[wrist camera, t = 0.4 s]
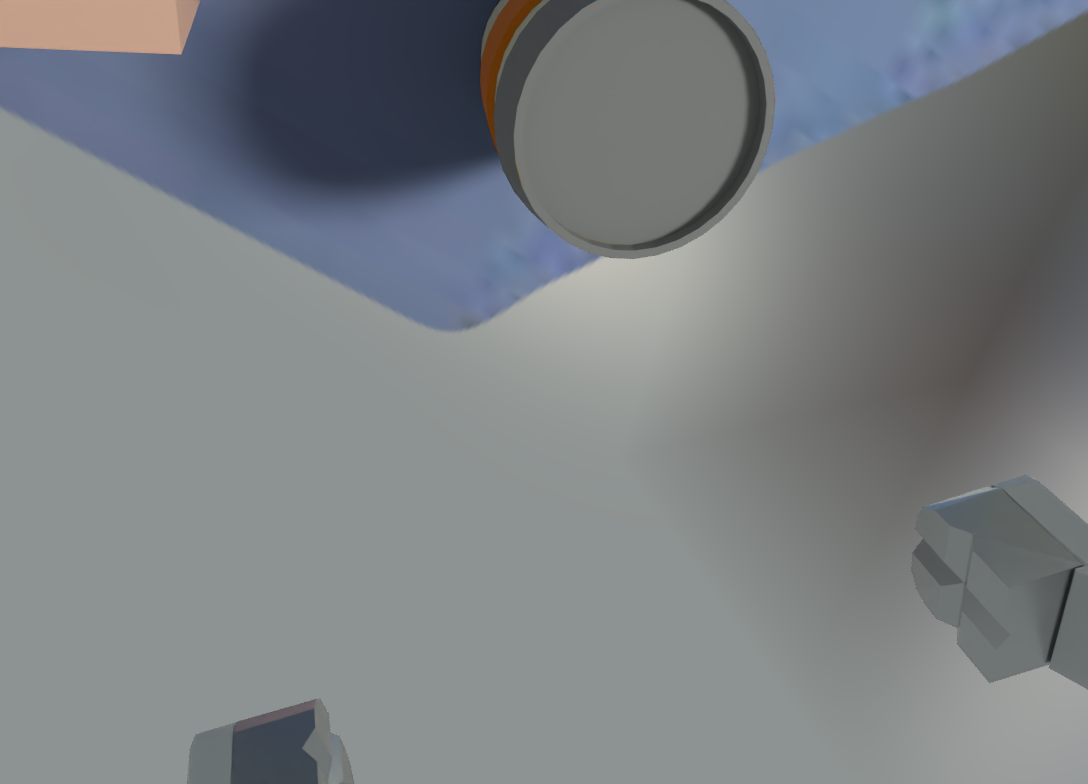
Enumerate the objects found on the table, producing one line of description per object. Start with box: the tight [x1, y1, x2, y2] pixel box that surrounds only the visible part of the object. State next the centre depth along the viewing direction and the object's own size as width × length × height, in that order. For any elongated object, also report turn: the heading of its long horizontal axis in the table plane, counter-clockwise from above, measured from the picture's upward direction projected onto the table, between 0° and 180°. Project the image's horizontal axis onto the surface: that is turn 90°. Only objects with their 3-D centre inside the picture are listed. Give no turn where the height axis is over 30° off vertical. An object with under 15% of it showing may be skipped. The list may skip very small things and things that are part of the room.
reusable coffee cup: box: [480, 0, 775, 259], centre depth 45 cm, size 12×13×15 cm
